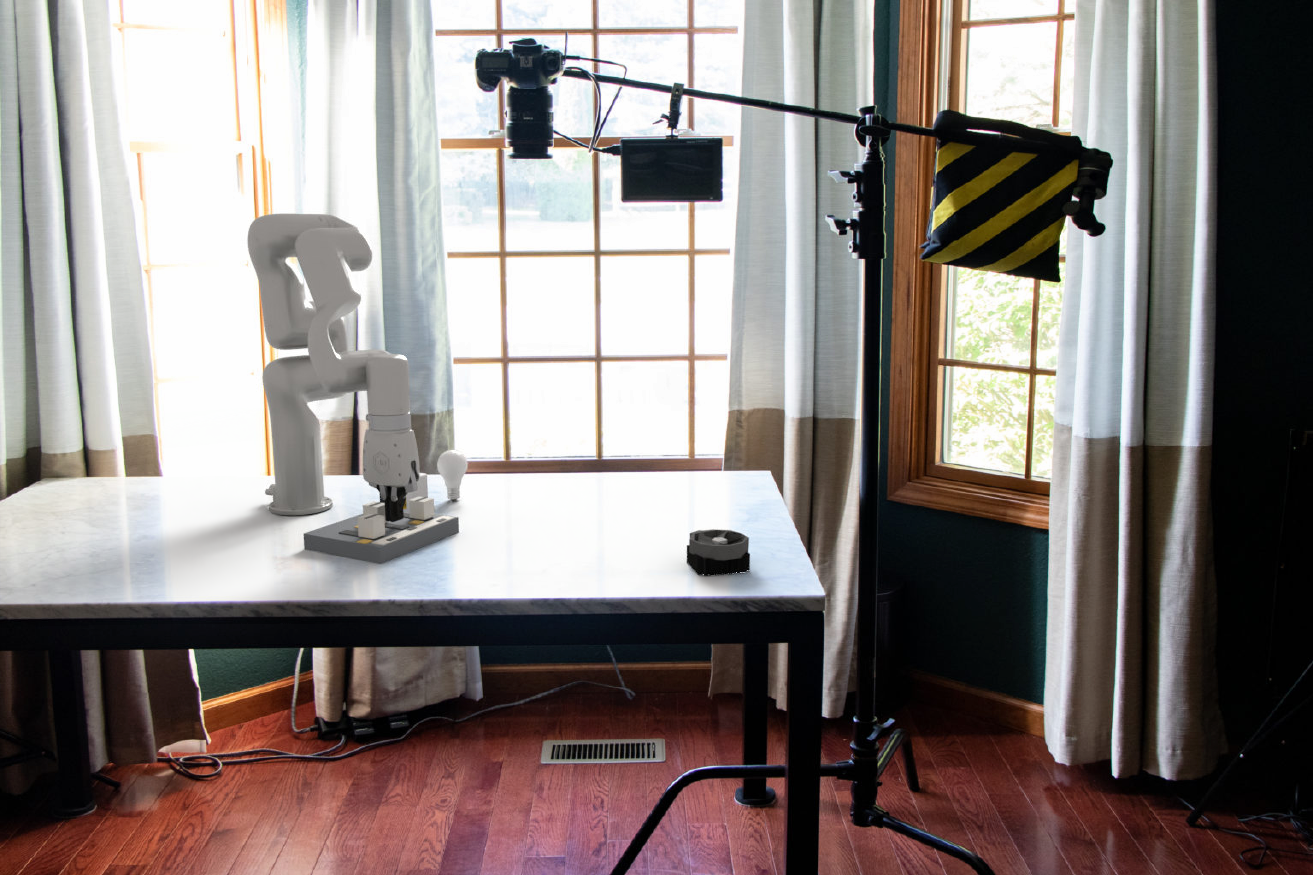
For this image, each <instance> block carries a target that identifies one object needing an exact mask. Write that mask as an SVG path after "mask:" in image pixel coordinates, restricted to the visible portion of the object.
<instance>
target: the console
mask: <svg viewBox="0 0 1313 875" xmlns="http://www.w3.org/2000/svg"><path fill="white" fill-rule="evenodd" d="M403 513H404V518H403V519H401V520H398V521H395V522H390V521H389V522H387V523H385V535H383V536H380V537H378V538H375V539H371V538H365V537H359V535H358V517H360V516H363V513H360V514H358V515H355V516H351V517H348V518H345V519H343V520H340V521H336V522H334V523H331V524H328V525H325V526H322V527H319V528H317V529H316V528H315V529H312V530H309V531H307V532H304V533H303V550H307V551H310V552H311V551H312V552H317V553H322V554H328V555H331V556H332V555H333V556H338V557H344V558H350V559H353V560H360V561H365V562H370V563H374V564H375V563H376V564H380V565H381V564H383V563H386V562H388V561H391V560H394V559H395V558H399V557H401V556H403V555H407V554H408V553H411V552H413V551H415V550H418V549H420V548H424V547H427V546H428V545H432V544H433V543H436V542H438V541H440V540H444V539H445V538H447V537H451V536H453V535H456V534H458V533H460V529H459V528H460V524H459V518H460V517H458V516H453V515H447V514H440V513H436V512H434V517H431V518H429V519H426V520H421V519H415V518H410V511H409V509H403Z"/></svg>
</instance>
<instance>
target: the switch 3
mask: <svg viewBox="0 0 1313 875" xmlns="http://www.w3.org/2000/svg"><path fill="white" fill-rule="evenodd" d="M409 511H410V518H415V519H421V520H426V519H429V518H431V517H434V513H435V498H433V497H429V496H428V497H420V496H419V497H416V498H413V499H410V500H409Z"/></svg>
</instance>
